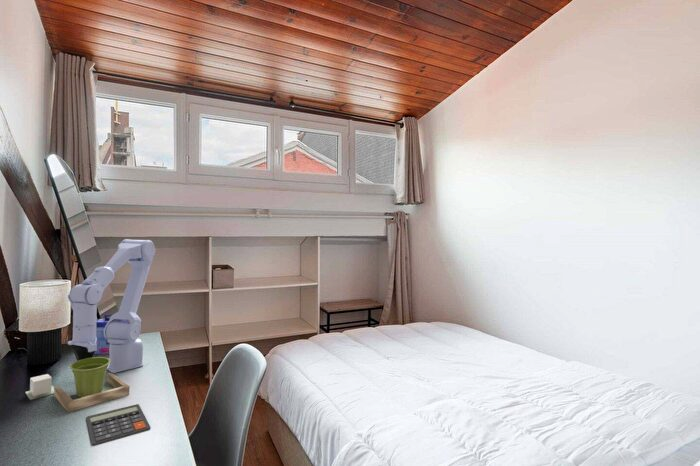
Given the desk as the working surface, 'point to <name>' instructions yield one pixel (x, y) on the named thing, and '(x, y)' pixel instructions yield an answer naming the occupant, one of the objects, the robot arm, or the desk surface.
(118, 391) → the brown bent bar
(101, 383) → the plant pot
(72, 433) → the desk surface
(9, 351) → the desk surface
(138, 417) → the calculator
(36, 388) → the cream block
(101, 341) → the ink cartridge box
